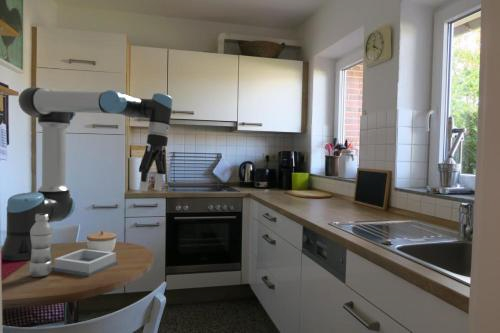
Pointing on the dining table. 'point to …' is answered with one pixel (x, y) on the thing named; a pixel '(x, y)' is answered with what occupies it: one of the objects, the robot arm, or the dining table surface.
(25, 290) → the dining table surface
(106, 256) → the light grey square tray
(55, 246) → the dining table surface
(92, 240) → the lidded jar
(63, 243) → the dining table surface
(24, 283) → the dining table surface
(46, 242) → the plastic bottle
